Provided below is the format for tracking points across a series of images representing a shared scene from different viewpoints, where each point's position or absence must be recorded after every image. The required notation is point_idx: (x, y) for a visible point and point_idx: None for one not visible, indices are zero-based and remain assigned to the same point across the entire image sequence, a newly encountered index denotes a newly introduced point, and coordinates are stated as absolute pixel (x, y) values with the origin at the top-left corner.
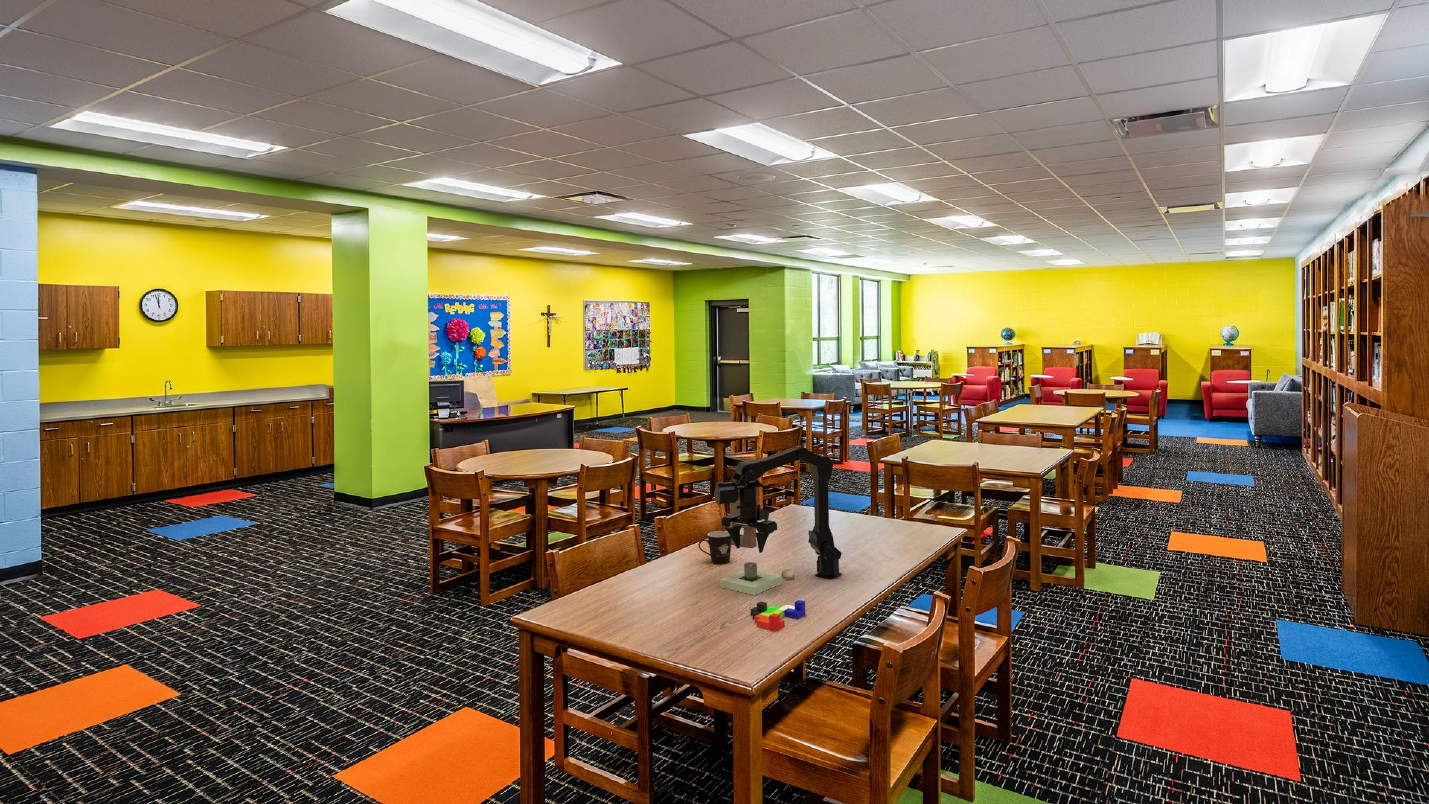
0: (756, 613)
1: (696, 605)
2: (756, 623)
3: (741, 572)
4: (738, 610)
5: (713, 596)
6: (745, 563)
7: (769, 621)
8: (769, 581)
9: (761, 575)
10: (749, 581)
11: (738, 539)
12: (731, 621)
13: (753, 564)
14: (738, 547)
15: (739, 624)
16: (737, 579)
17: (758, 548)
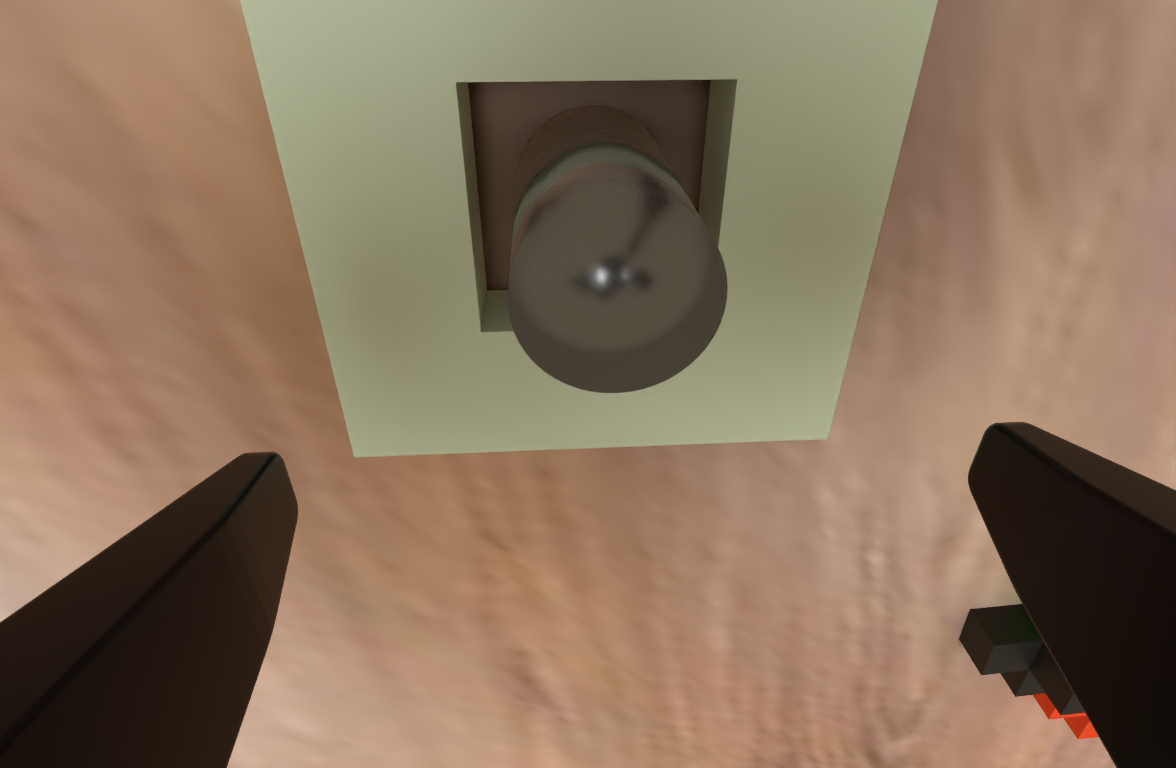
0: (1043, 691)
1: (559, 698)
2: (1066, 721)
3: (302, 91)
4: (848, 629)
5: (518, 565)
6: (526, 326)
7: None
8: (889, 184)
9: (657, 29)
10: None
11: (163, 676)
12: (894, 724)
13: (678, 292)
14: (284, 504)
15: (953, 725)
16: (506, 354)
17: (1025, 598)
